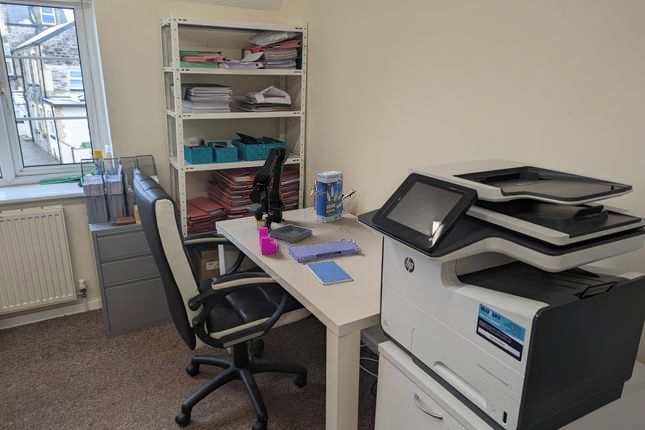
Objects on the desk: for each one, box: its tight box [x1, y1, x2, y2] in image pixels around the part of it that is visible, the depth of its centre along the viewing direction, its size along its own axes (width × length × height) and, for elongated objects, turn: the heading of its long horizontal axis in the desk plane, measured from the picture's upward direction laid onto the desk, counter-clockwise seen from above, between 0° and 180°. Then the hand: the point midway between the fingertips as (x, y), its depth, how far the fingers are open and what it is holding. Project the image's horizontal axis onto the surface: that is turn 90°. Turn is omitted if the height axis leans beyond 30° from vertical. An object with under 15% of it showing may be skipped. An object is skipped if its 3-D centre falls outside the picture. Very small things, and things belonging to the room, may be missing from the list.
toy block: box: [258, 227, 277, 256], centre depth 190 cm, size 15×6×8 cm, turn 12°
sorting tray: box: [270, 223, 313, 244], centre depth 207 cm, size 14×14×3 cm
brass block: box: [256, 218, 272, 232], centre depth 214 cm, size 5×5×5 cm
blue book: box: [305, 260, 354, 286], centre depth 168 cm, size 19×13×1 cm, turn 22°
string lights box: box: [315, 170, 344, 224], centre depth 231 cm, size 13×8×26 cm, turn 136°
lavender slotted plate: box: [288, 238, 360, 263], centre depth 187 cm, size 30×4×15 cm
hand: (263, 228), depth 214 cm, fingers closed on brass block, 5 cm apart
